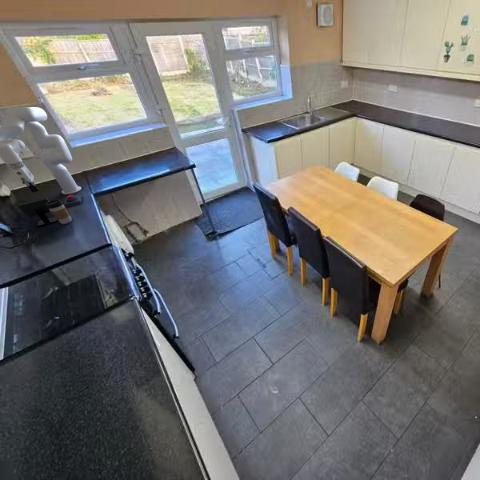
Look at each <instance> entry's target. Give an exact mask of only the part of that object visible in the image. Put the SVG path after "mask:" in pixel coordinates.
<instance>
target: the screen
mask: <svg viewBox="0 0 480 480" xmlns="http://www.w3.org/2000/svg"><path fill="white" fill-rule="evenodd" d="M49 201H50V200H49V199H48V197H43V198H40V199H35V200H30V201H26V202H21V203H18V204H17V206H18V208H19V209H20V210H21V211H22V212H23V213H24V214H25V215H26V216H27V217H28V218H31V217H35V216H38V215H37V213H36V212H35V210H37V209H42V210H43V211H44V213H45V214H47V213H51V212H50V210H49V209H48V208H47V207H46V203H47V202H49Z"/></svg>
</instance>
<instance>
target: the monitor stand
mask: <svg viewBox="0 0 480 480" xmlns="http://www.w3.org/2000/svg"><path fill="white" fill-rule="evenodd" d="M35 212H36V213H37V215H36V216H37V217H38V218H39V219H40V220H38V222H37V225H36V226H37V227H38V228H39V227H44V226H48V225H51V224H56V223H58V222H59V220H58V219H57V218H56V217H55V216H53V217H48V215H47V213H44V211H43V210H42V209H37V210H35Z"/></svg>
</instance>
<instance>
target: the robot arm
mask: <svg viewBox="0 0 480 480" xmlns="http://www.w3.org/2000/svg"><path fill="white" fill-rule="evenodd" d="M47 120H48V114H47V112H46V111H45V110H44V109H42V107H41V108H40V107H33V106H19V107H9V108H7V109H6V110H5V112H4V118H3V125H2V126H1V127H0V159H1V160H2V162H3V164H4V165H6V167H7V168H8V169H9V170H12V172H13V174H14V175H15V176H16V178H17V180H18V181H19V182H20V183H21V184H22V185H25V186H26V187H28V188H29V190H30V191H31V192H32V193H37V192H39V191H40V189H39V188H38V187H37V185H36V184H35V182H34V181H35V176H34V175H33V174H32V172H31V171H30V170H29V168H28V167H27V166H26V164H25V162H24V161H23V160H22V158H21V157H20V156H19V153H22V152H24V151H25V150H26V144H25V142H23V141H22V140H20V139H17V138H15V137H17V136H19V135H22V134H23V133H24V131H25V127H26V128H27V129H28V130H29V132H30V135H31V136H32V138H33V140H34V143H35V144H36V146H37V148H38V149H40V150H46V151H43V152H42V153H40V154H39V159H40V160H41V162H42V163H43V164H44V165H45V167H47V169H48V170H49V171H50V173H51V174H52V176H53V177H54V179H55V180H56V182H57V183H58V185H59V187H60V188H61V189H62V190H61V194H62V195H73V194H76V193H78V192H80V191H81V190H82V186H79V185H78V184H77V182H76V181H75V179H74V178H73V176H72V175H71V172H70V171H69V169H68V168H67V167H66V166H65V165H66V164H70V163H73V157H72V154H71V152H70V149H69V147H68V145H67V142H66V140H64V138H63V137H62V136H61V135H60V134H49V133H48V132H47V129H46V127H45V126H44V125H42V124H41V123H40V122H46V121H47ZM56 149H57V150H56ZM63 164H65V165H63Z"/></svg>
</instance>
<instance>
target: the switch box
mask: <svg viewBox="0 0 480 480" xmlns="http://www.w3.org/2000/svg"><path fill="white" fill-rule="evenodd" d="M73 196H74V198H72V199H68V198H67V197H65V199H64V202H63V205H64V206H65V208H69V207H72V206H76V205H80V204H82V196H81V195H76V194H75V195H73Z"/></svg>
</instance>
